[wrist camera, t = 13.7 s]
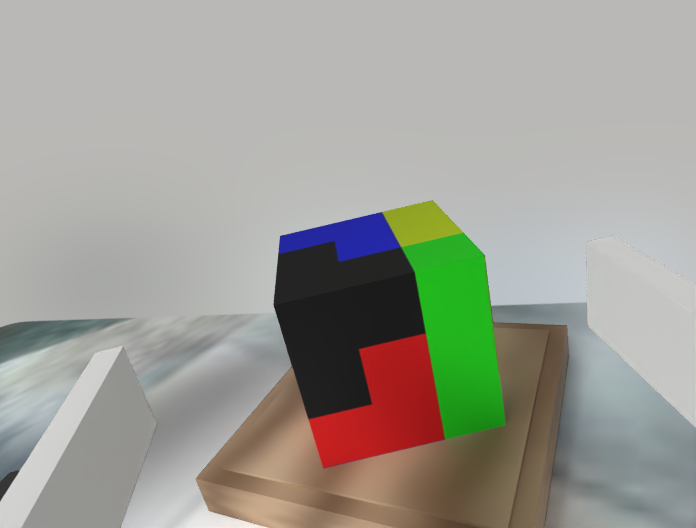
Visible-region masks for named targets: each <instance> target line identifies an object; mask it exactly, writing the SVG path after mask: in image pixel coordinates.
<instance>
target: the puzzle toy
mask: <svg viewBox="0 0 696 528" xmlns="http://www.w3.org/2000/svg"><path fill="white" fill-rule="evenodd" d="M274 308H275V311H276V315H277V318H278V321H279V324H280V328H281V331H282V334H283V338H284V341H285V344H286V348H287V351H288V354H289V357H290V361H291V364H292V367H293V371H294V374H295V377H296V381H297V384H298V387H299V390H300V394H301V397H302V400H303V404H304V407H305V410H306V414H307V417H308V420H309V423H310V427H311V430H312V433H313V437H314V440H315V443H316V447H317V450H318V453H319V456H320V460H321V463H322V466H323V469H324V468H328V467H332V466H336V465H340V464H345V463H349V462H353V461H357V460H362V459H366V458H370V457H374V456H378V455H383V454H387V453H391V452H395V451H400V450H404V449H408V448H412V447H416V446H421V445H425V444H429V443H433V442H438V441H442V440H446V439H450V438H454V437H459V436H463V435H467V434H471V433H476V432H480V431H484V430H488V429H492V428H497V427H501V426H505V425H506V423H505V415H504V407H503V399H502V391H501V383H500V375H499V367H498V359H497V351H496V343H495V335H494V326H493V318H492V310H491V302H490V294H489V286H488V278H487V270H486V262H485V255H484V254H483V253H482V252H481V251H480V250H479V249H478V248H477V246H476V245H475V244H474V243H473V242H472V241H471V240H470V239H469V238H468V237H467V236H466V235H465V234H464V233H463V232H462V231H461V230H460V229H459V227H458V226H457V225H456V224H455V223H454V222H453V221H452V220H451V219H450V218H449V217H448V216H447V215H446V214H445V213H444V212H443V211H442V209H440V208H439V206H437V204H436V203H435V202H434V201H433V200H432V201H427V202H423V203H419V204H414V205H410V206H406V207H402V208H397V209H393V210H389V211H385V212H381V213H376V214H372V215H368V216H363V217H360V218H355V219H351V220H346V221H342V222H338V223H334V224H329V225H325V226H321V227H317V228H312V229H308V230H304V231H299V232H295V233H291V234H287V235H282V236H280V243H279V253H278V264H277V274H276V285H275V295H274Z"/></svg>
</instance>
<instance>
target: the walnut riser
mask: <svg viewBox="0 0 696 528" xmlns="http://www.w3.org/2000/svg"><path fill="white" fill-rule="evenodd" d="M493 326H494V335H495V343H496V351H497V359H498V367H499V375H500V383H501V391H502V399H503V407H504V415H505V423H506V425H505V426H501V427H497V428H492V429H488V430H484V431H480V432H476V433H471V434H467V435H463V436H459V437H454V438H450V439H446V440H442V441H438V442H433V443H429V444H425V445H421V446H416V447H412V448H408V449H404V450H400V451H395V452H391V453H387V454H383V455H378V456H374V457H370V458H366V459H362V460H357V461H353V462H349V463H345V464H340V465H336V466H332V467H328V468H324V469H323V466H322V463H321V460H320V456H319V453H318V450H317V447H316V443H315V440H314V437H313V433H312V430H311V427H310V423H309V420H308V417H307V414H306V410H305V407H304V404H303V400H302V397H301V394H300V390H299V387H298V384H297V381H296V377H295V374H294V371H293V367H291V368H290V369H289V370H288V372H287V373H286V374H285V375H284V376H283V377H282V379H281V380H280V381H279V382H278V383H277V384H276V386H275V387H274V388H273V389H272V390H271V391H270V393H269V394H268V395H267V396H266V397H265V398H264V400H263V401H262V402H261V403H260V404H259V405H258V407H257V408H256V409H255V410H254V411H253V412H252V414H251V415H250V416H249V417H248V418H247V419H246V421H245V422H244V423H243V424H242V425H241V426H240V428H239V429H238V430H237V431H236V432H235V433H234V435H233V436H232V437H231V438H230V439H229V440H228V442H227V443H226V444H225V445H224V446H223V447H222V449H221V450H220V451H219V452H218V453H217V454H216V456H215V457H214V458H213V459H212V460H211V461H210V463H209V464H208V465H207V466H206V467H205V468H204V469H203V471H202V472H201V473H200V474H199V475H198V476H197V478H196V481H197V484H198V486H199V488H200V491H201V493H202V495H203V498H204V500H205V502H206V505H207V507H208V509H209V511H211V512H215V513H218V514H222V515H226V516H229V517H233V518H236V519H240V520H244V521H247V522H251V523H254V524H258V525H262V526H265V527H269V528H544V525H545V518H546V511H547V504H548V497H549V490H550V483H551V476H552V469H553V462H554V455H555V449H556V442H557V435H558V428H559V421H560V414H561V407H562V400H563V393H564V386H565V379H566V372H567V365H568V358H569V352H568V336H567V325H544V324H519V323H495V322H493Z"/></svg>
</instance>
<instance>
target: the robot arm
mask: <svg viewBox="0 0 696 528" xmlns="http://www.w3.org/2000/svg"><path fill="white" fill-rule="evenodd" d="M586 268H587V324H588V327H589V328H590V329H591V330H592V331H593V332H595V333H596V334H597V335H598V336H599V337H600V338H601V339H602V340H603V341H604V342H605V343H606V344H607V345H608V346H609V347H610V348H611V349H613V350H614V351H615V352H616V353H617V354H618V355H619V356H620V357H621V358H622V359H623V360H624V361H625V362H626V363H627V364H628V365H630V366H631V367H632V368H633V369H634V370H635V371H636V372H637V373H638V374H639V375H640V376H641V377H642V378H643V379H644V380H645V381H646V382H648V383H649V384H650V385H651V386H652V387H653V388H654V389H655V390H656V391H657V392H658V393H659V394H660V395H661V396H662V397H663V398H665V399H666V400H667V401H668V402H669V403H670V404H671V405H672V406H673V407H674V408H675V409H676V410H677V411H678V412H679V413H680V414H681V415H683V416H684V417H685V418H686V419H687V420H688V421H689V422H690V423H691V424H692V425H693V426H694V427H695V428H696V285H695V284H694V283H692V282H691V281H689V280H687V279H686V278H684V277H682V276H680V275H679V274H677V273H675V272H673V271H672V270H670V269H669V268H667V267H665V266H663V265H662V264H660V263H658V262H656V261H655V260H653V259H652V258H650V257H648V256H646V255H645V254H643V253H641V252H640V251H638V250H636V249H635V248H633V247H631V246H629V245H628V244H626V243H624V242H622V241H621V240H619V239H618V238H616V237H614V236H609V237H604V238H600V239H595V240H591V241H587V242H586ZM156 426H157V423H156V420H155V418H154V416H153V413H152V411H151V409H150V406H149V404H148V402H147V400H146V397H145V395H144V393H143V390H142V388H141V386H140V384H139V381H138V379H137V377H136V374H135V372H134V370H133V368H132V365H131V363H130V361H129V358H128V356H127V354H126V352H125V349H124V347H123V346H121V347H117V348H112V349H108V350H103V351H99V352H96V353H95V354H94V356H93V357H92V359H91V360H90V362H89V364H88V365H87V367H86V368H85V370H84V371H83V373H82V374H81V376H80V378H79V379H78V381H77V382H76V384H75V385H74V387H73V389H72V390H71V392H70V393H69V395H68V396H67V398H66V400H65V401H64V403H63V404H62V406H61V407H60V409H59V410H58V412H57V414H56V415H55V417H54V418H53V420H52V421H51V423H50V425H49V426H48V428H47V429H46V431H45V432H44V434H43V435H42V437H41V439H40V440H39V442H38V443H37V445H36V446H35V448H34V450H33V451H32V453H31V454H30V456H29V457H28V459H27V461H26V462H25V464H24V465H23V467H22V468H21V470H19V471H15V472H11V473H9V474H8V475H7V476H6V477H5V478H4V479H3V480H2V481H0V528H120V527H121V525H122V522H123V519H124V516H125V513H126V511H127V508H128V505H129V502H130V499H131V496H132V494H133V491H134V488H135V485H136V482H137V480H138V477H139V474H140V471H141V468H142V465H143V463H144V460H145V457H146V454H147V451H148V449H149V446H150V443H151V440H152V437H153V434H154V432H155V429H156Z"/></svg>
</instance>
